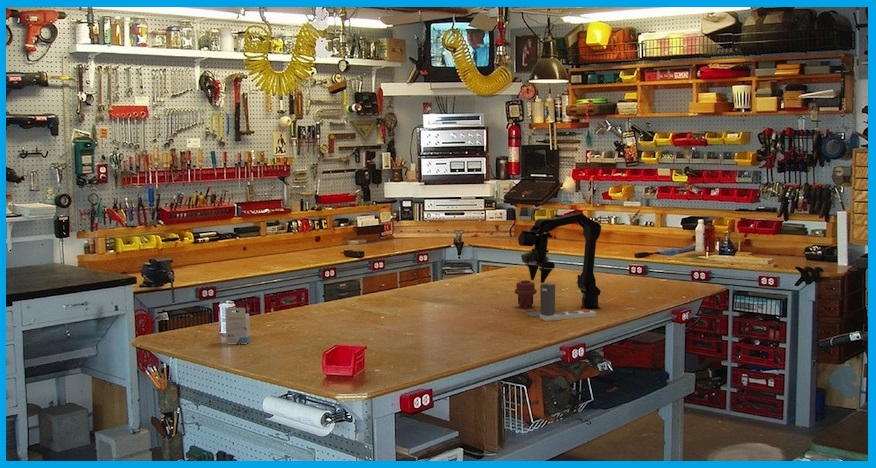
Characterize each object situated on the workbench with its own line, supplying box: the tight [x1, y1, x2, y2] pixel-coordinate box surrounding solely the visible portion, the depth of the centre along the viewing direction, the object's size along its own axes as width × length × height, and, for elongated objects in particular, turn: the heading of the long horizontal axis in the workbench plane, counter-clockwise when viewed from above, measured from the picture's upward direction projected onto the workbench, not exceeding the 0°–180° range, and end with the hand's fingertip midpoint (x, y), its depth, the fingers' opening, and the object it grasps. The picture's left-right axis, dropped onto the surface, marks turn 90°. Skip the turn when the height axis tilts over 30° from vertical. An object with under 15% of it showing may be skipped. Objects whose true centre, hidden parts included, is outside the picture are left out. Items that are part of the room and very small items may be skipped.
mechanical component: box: [514, 279, 537, 310], centre depth 473 cm, size 12×10×10 cm
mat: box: [524, 311, 540, 318], centre depth 456 cm, size 8×8×1 cm
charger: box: [539, 283, 556, 315], centre depth 445 cm, size 5×4×13 cm
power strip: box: [539, 308, 597, 322], centre depth 448 cm, size 24×6×3 cm, turn 107°
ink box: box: [225, 307, 251, 344], centre depth 406 cm, size 8×5×15 cm, turn 83°
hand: (537, 281), depth 458 cm, fingers open, 9 cm apart
